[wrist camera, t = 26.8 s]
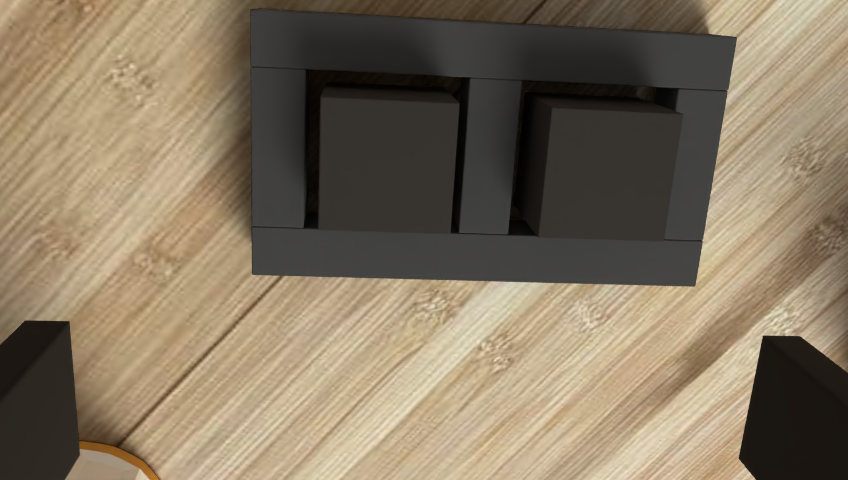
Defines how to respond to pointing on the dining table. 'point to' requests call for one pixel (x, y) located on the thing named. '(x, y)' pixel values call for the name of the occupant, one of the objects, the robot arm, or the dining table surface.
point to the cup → (108, 464)
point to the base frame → (476, 144)
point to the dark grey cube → (596, 166)
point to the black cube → (386, 158)
